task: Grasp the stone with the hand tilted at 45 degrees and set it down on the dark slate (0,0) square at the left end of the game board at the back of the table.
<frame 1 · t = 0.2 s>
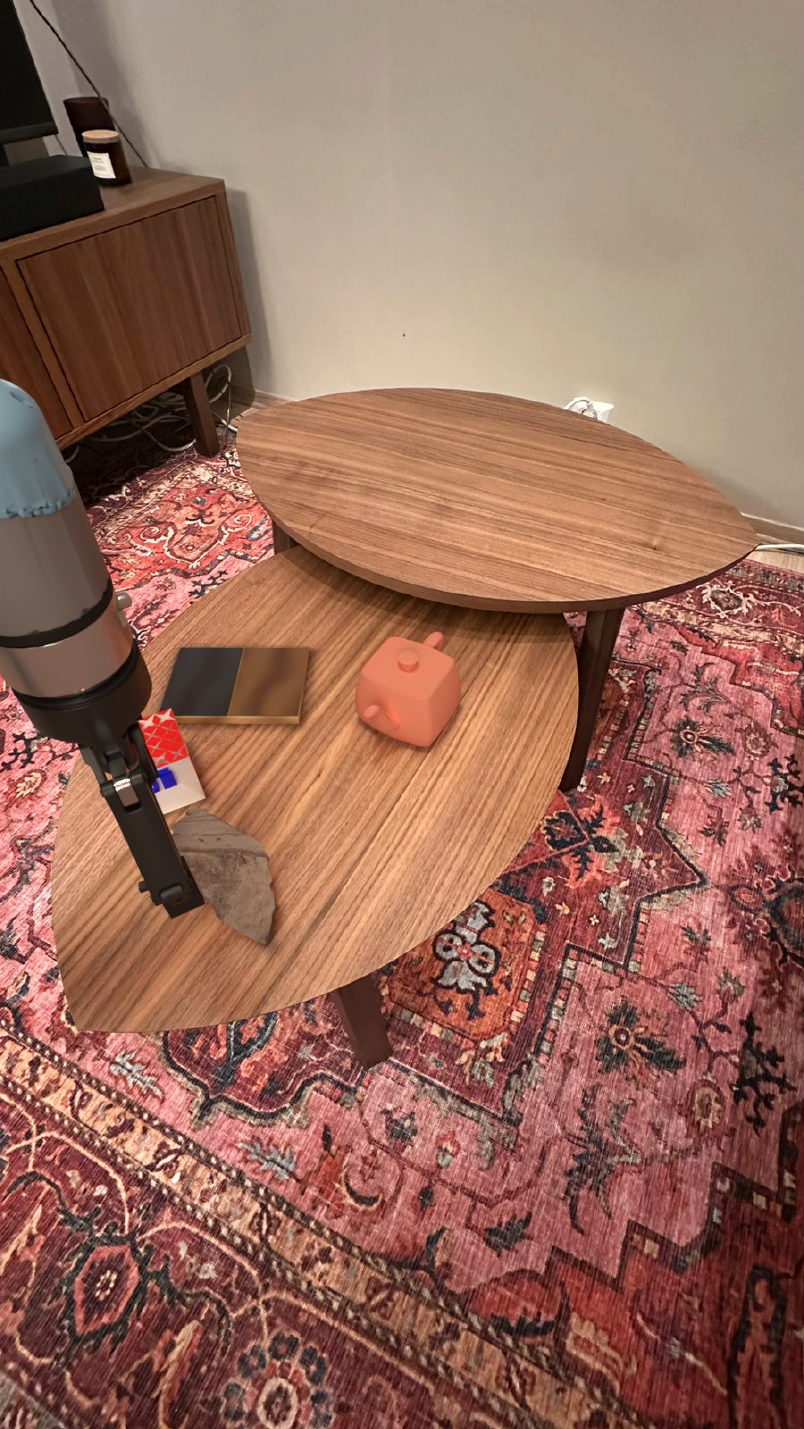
hand: (164, 839, 57), 17 cm above the table, tool pointing down, fingers open, 13 cm apart
board: (238, 686, 91), on the table
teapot: (405, 719, 88), on the table
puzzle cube: (164, 787, 81), on the table
stone: (236, 886, 72), on the table
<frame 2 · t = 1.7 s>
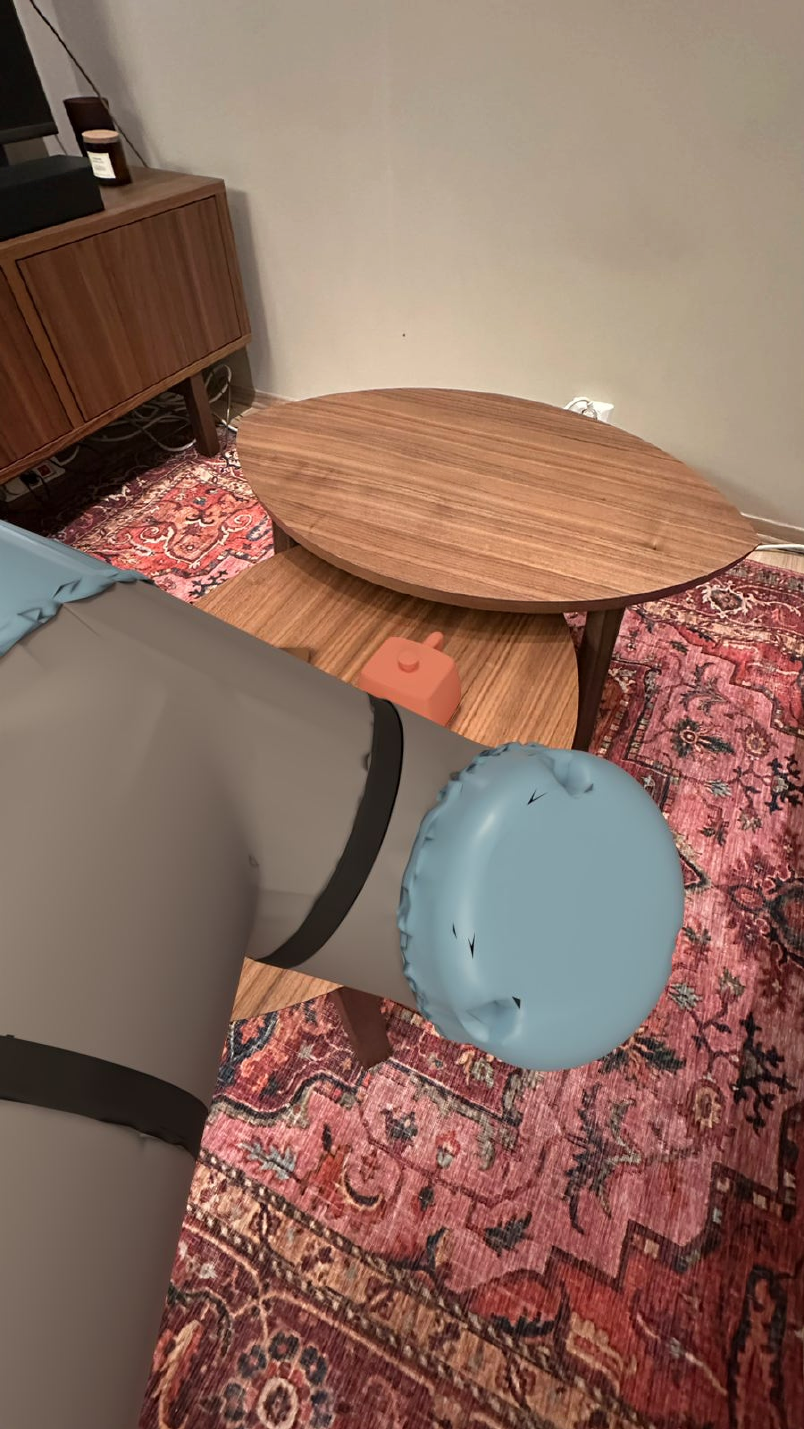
hand: (233, 814, 48), 26 cm above the table, tool tilted 45°, fingers open, 13 cm apart
nothing on the table moved.
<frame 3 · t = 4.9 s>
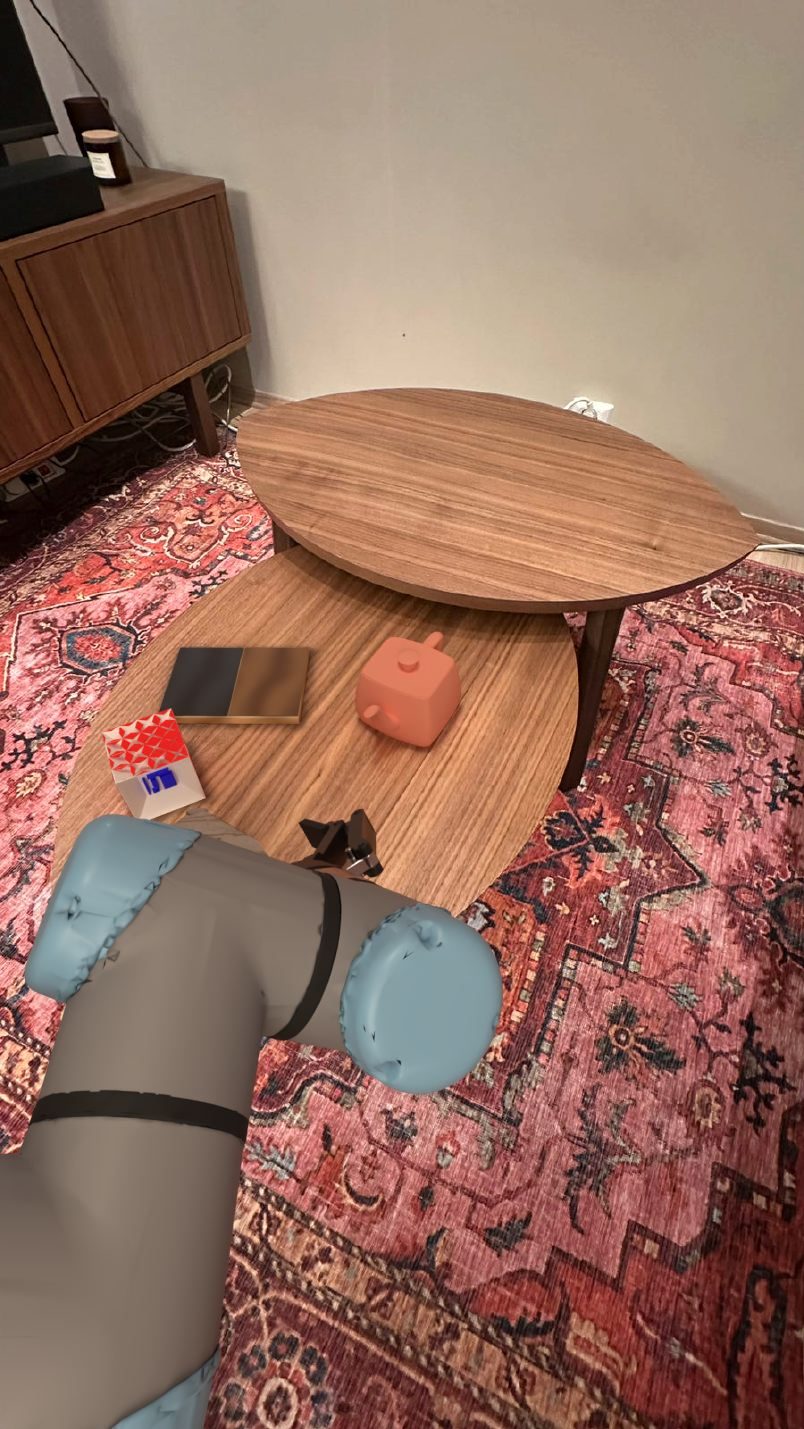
hand: (245, 874, 61), 11 cm above the table, tool tilted 45°, fingers open, 13 cm apart
nothing on the table moved.
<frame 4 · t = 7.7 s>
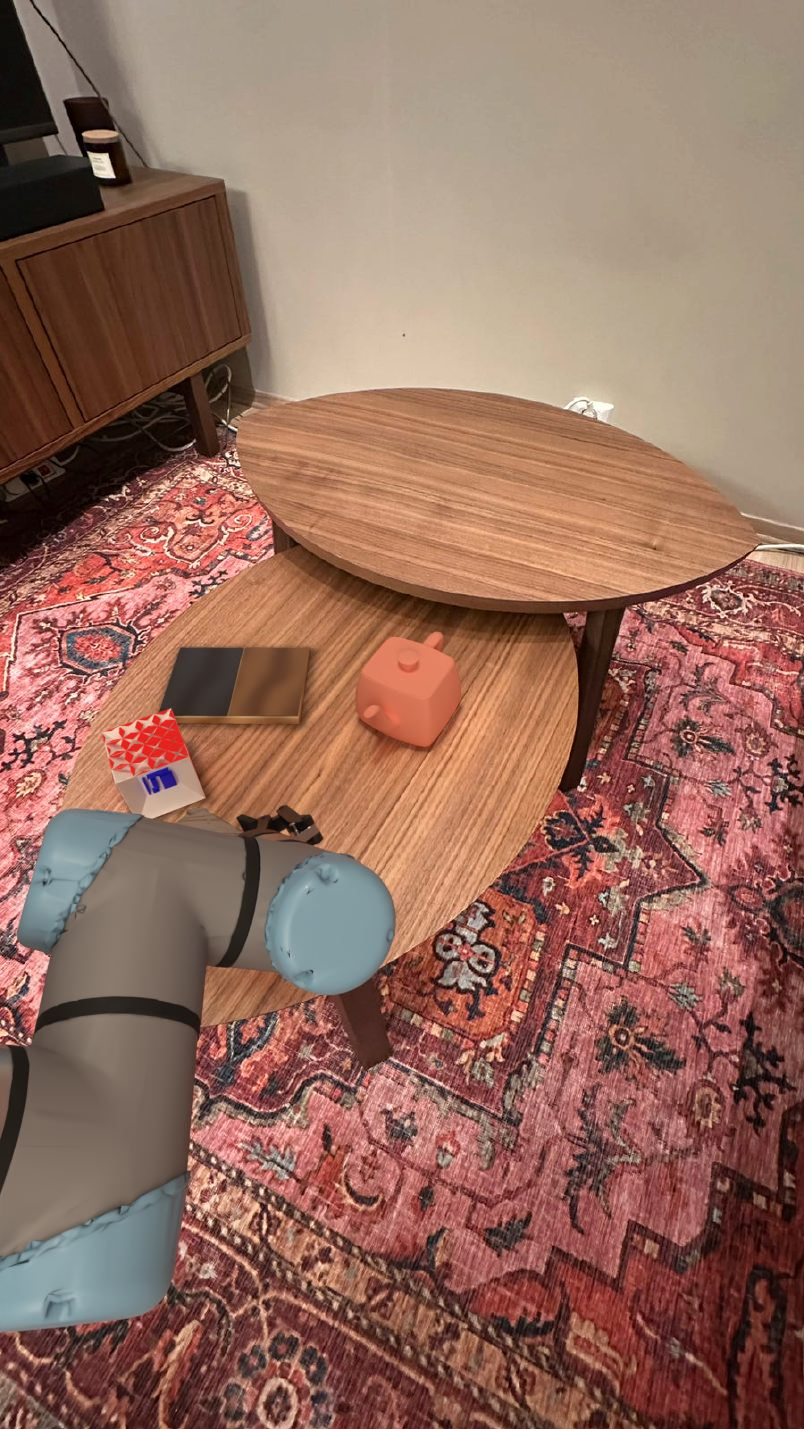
hand: (212, 847, 71), 4 cm above the table, tool tilted 45°, fingers closed on stone, 7 cm apart
stone: (236, 886, 73), on the table, touching gripper
everything else where it was.
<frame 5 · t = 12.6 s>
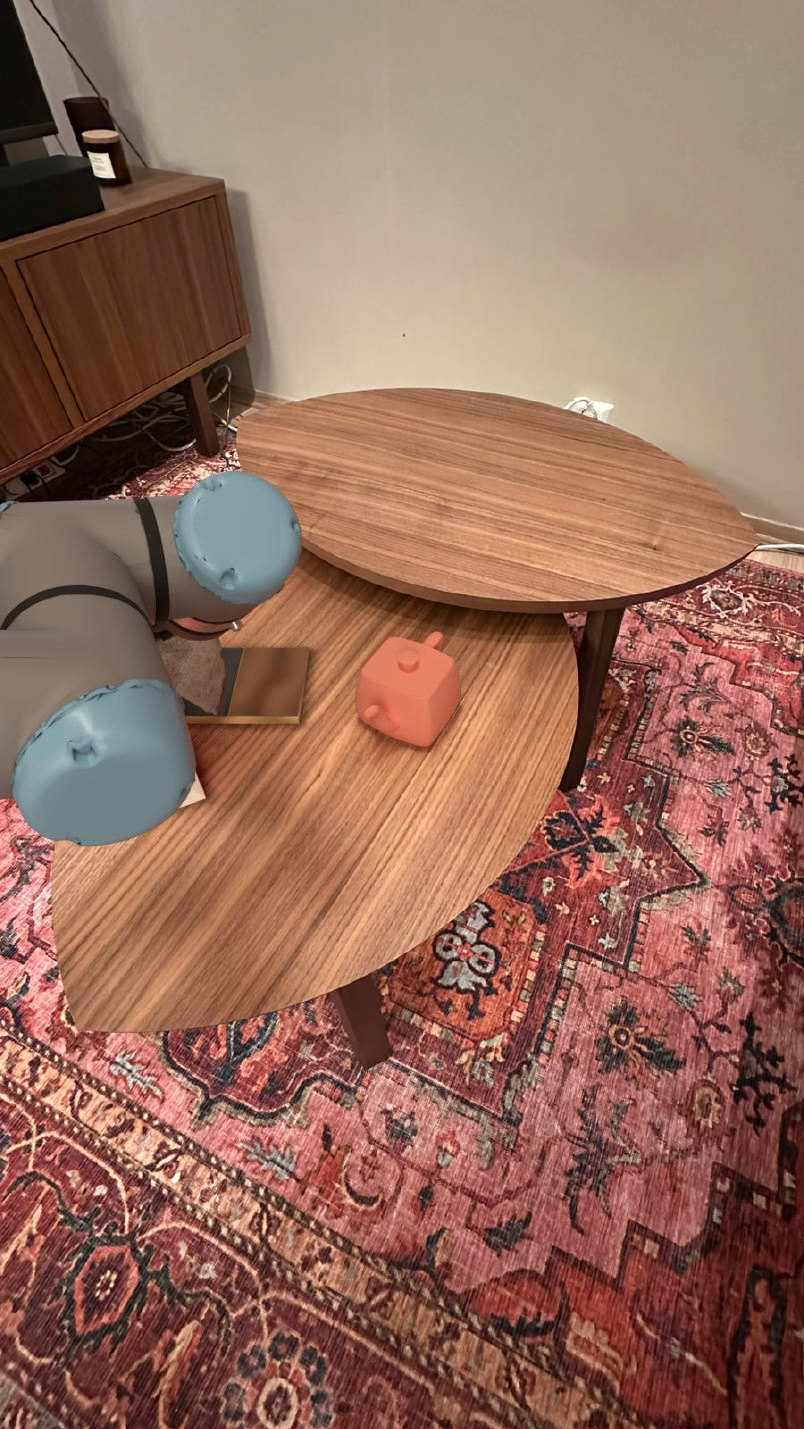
hand: (167, 633, 74), 17 cm above the table, tool tilted 45°, fingers closed on stone, 7 cm apart
stone: (192, 675, 75), point 13 cm above the table, touching gripper
everything else where it was.
when the fingers open (5 cm above the table, at t = 17.5 s): stone stays where it is, resting on board.
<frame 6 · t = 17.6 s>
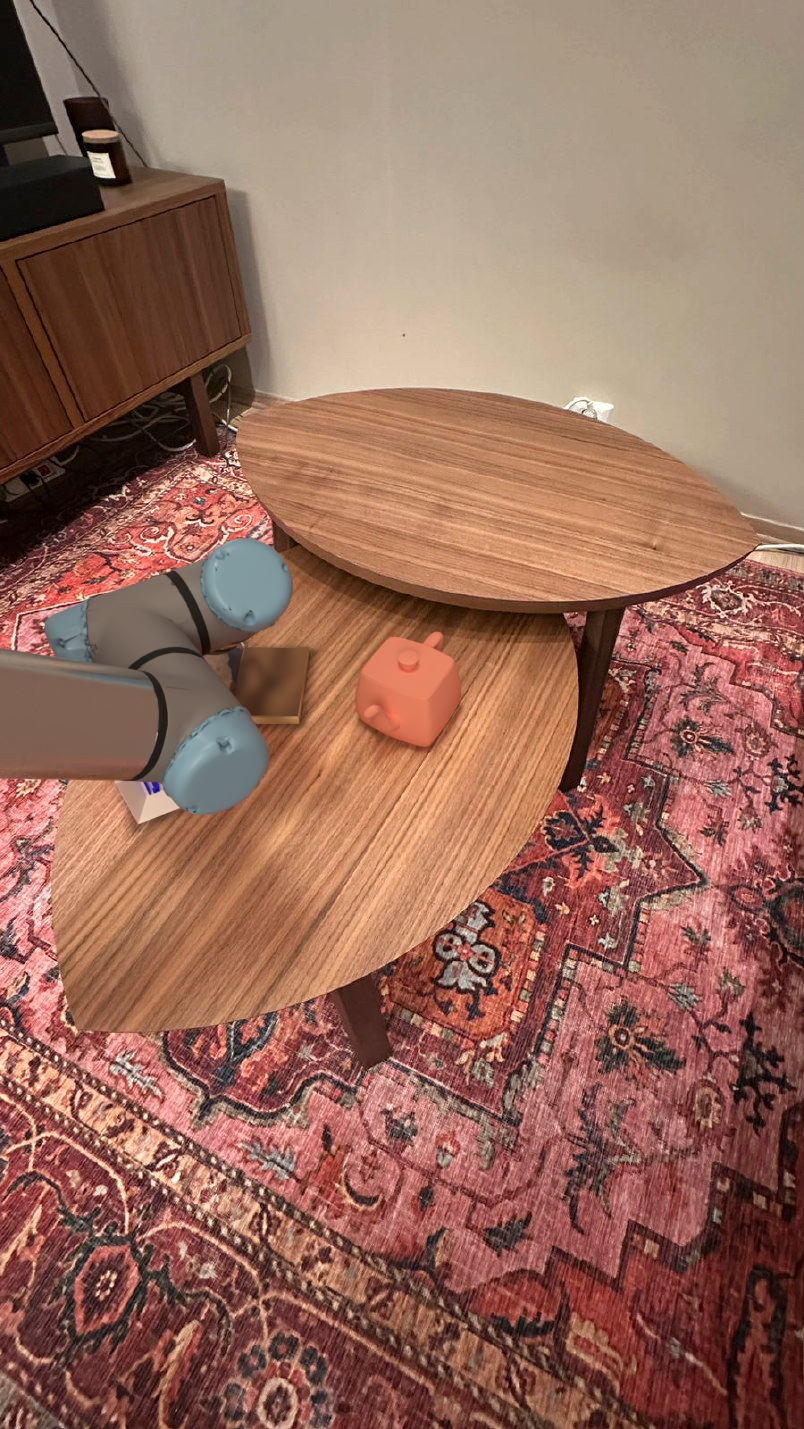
hand: (183, 646, 90), 5 cm above the table, tool tilted 45°, fingers open, 7 cm apart
stone: (203, 680, 91), point 1 cm above the table, touching board
everything else where it was.
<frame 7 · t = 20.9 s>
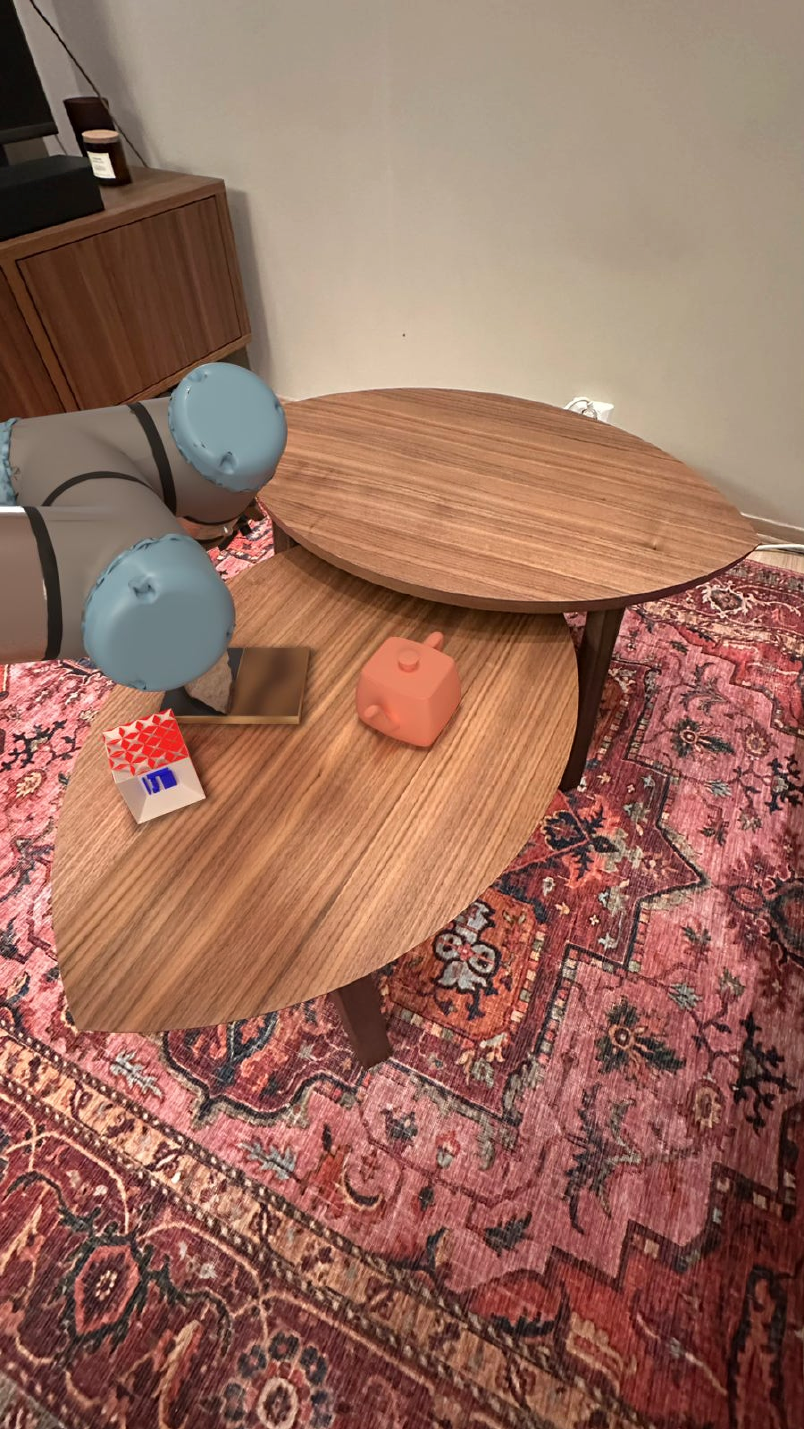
hand: (162, 563, 76), 21 cm above the table, tool tilted 45°, fingers open, 13 cm apart
nothing on the table moved.
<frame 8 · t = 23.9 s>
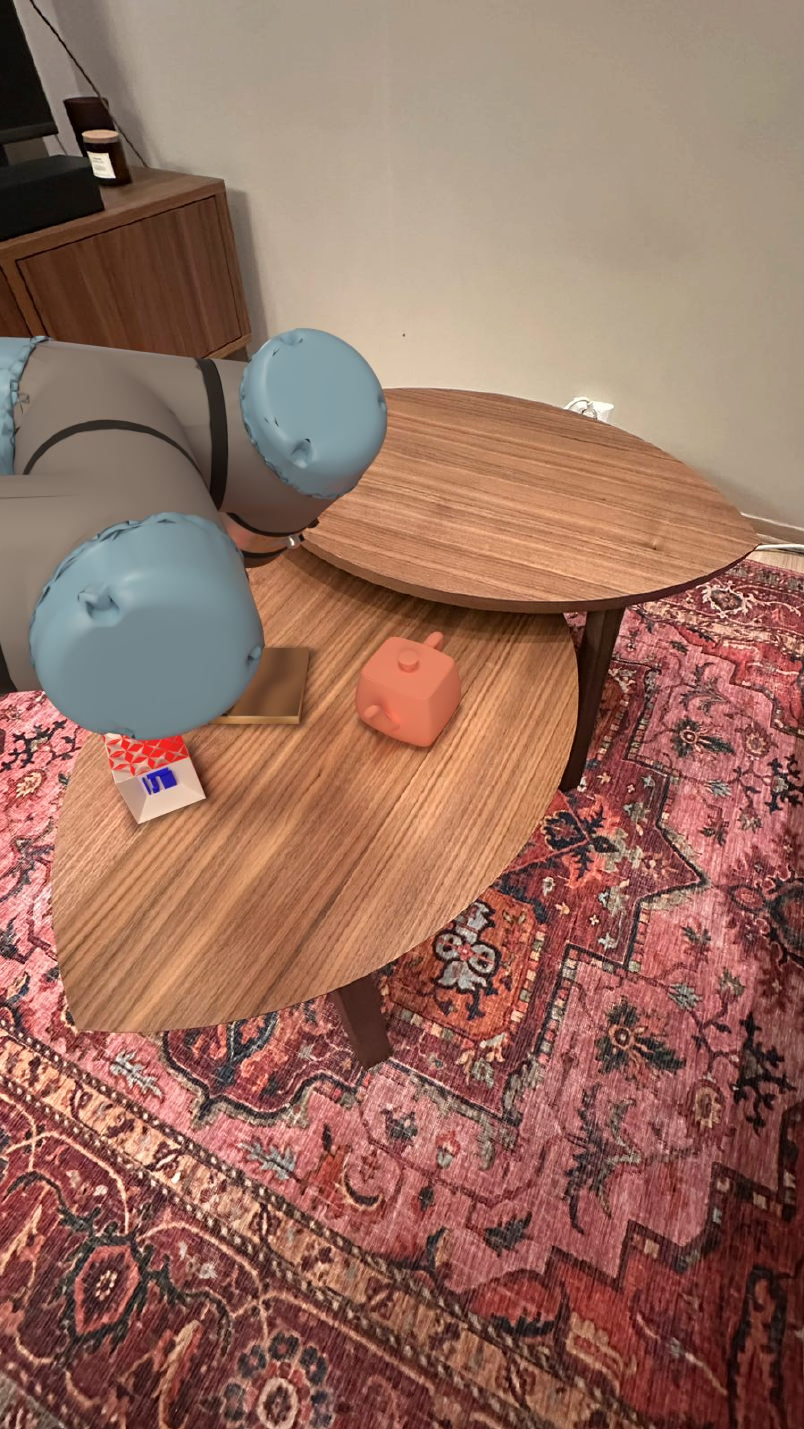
hand: (199, 575, 66), 26 cm above the table, tool tilted 45°, fingers open, 13 cm apart
nothing on the table moved.
at the end: stone 0.1 cm from the target spot on the board, point 1.2 cm above the board's base; stone tilted 0°; the gripper is holding nothing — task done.
